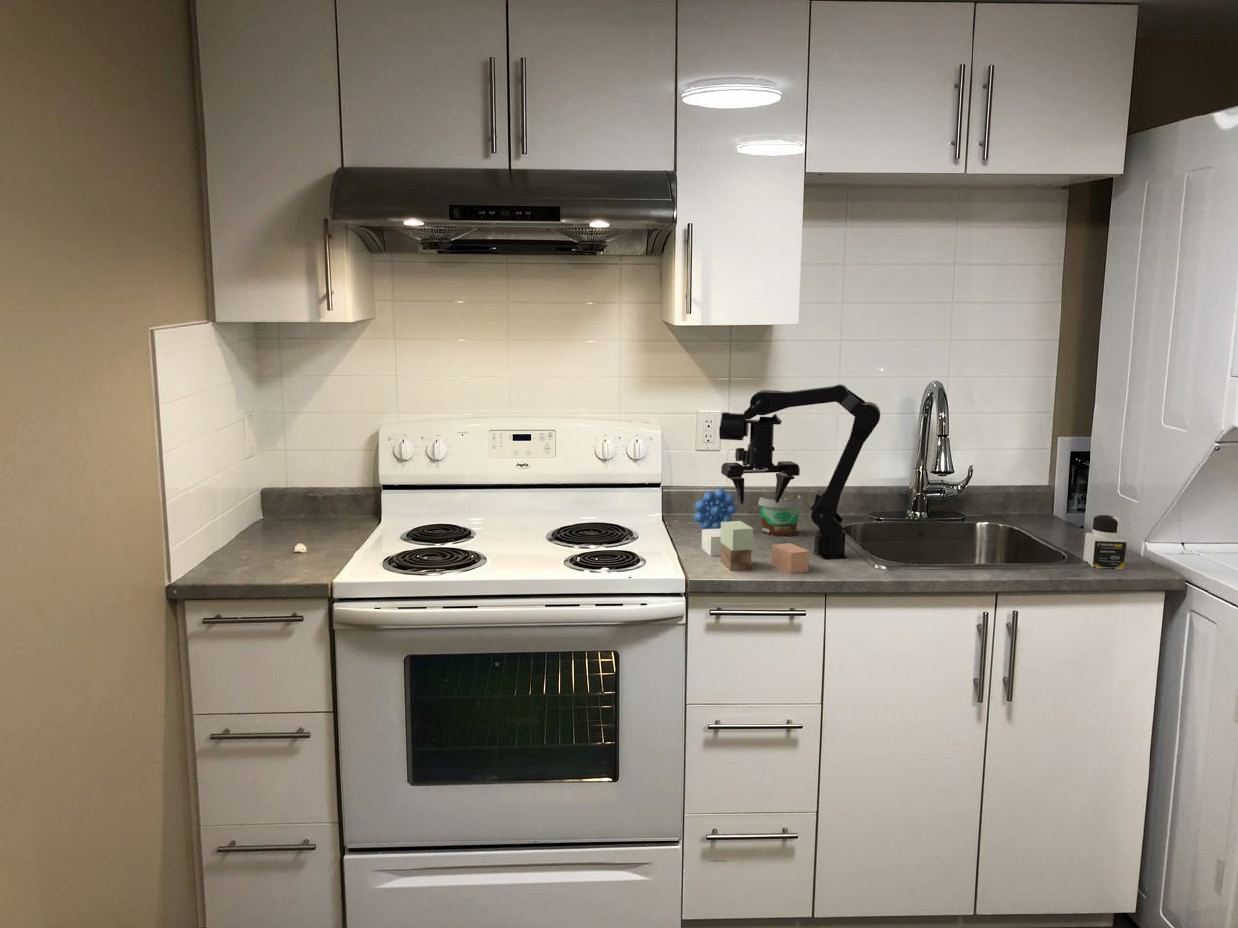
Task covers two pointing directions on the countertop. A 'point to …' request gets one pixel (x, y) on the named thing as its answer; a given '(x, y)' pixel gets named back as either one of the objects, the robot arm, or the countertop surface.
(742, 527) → the sage brick
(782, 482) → the robot arm
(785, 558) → the terracotta brick
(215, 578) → the countertop surface
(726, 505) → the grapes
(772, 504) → the food container
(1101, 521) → the medicine bottle
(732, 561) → the walnut brick
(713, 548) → the off-white brick
